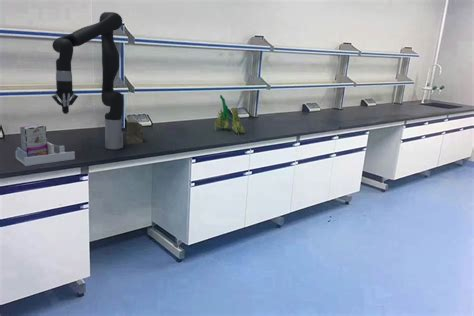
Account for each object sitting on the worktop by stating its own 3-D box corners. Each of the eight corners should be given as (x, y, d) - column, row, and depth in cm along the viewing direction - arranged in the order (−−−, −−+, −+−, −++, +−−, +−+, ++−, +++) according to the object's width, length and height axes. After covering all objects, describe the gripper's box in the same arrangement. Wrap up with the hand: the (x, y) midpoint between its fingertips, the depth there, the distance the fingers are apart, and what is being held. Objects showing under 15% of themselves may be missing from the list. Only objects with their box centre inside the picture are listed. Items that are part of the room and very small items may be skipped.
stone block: (134, 138, 264) (134, 115, 260) (143, 143, 252) (143, 120, 248) (119, 139, 258) (119, 116, 254) (127, 144, 246) (127, 120, 242)
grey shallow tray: (63, 152, 220) (63, 142, 219) (74, 159, 210) (74, 148, 209) (16, 158, 204) (15, 147, 202) (25, 166, 194) (24, 154, 192)
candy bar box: (42, 154, 210) (40, 124, 206) (48, 156, 208) (46, 125, 203) (21, 159, 201) (19, 126, 196) (27, 161, 198) (25, 128, 194)
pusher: (53, 152, 215) (53, 139, 213) (62, 157, 207) (61, 144, 205) (44, 153, 211) (43, 140, 210) (52, 158, 203) (51, 145, 202)
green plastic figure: (247, 132, 302) (246, 92, 291) (234, 138, 289) (232, 97, 279) (221, 127, 317) (219, 89, 306) (207, 133, 304) (204, 93, 294)
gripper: (53, 80, 197) (55, 115, 201) (80, 80, 206) (81, 113, 210) (47, 78, 202) (49, 113, 206) (74, 78, 211) (75, 111, 215)
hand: (65, 113), depth 208 cm, fingers closed
